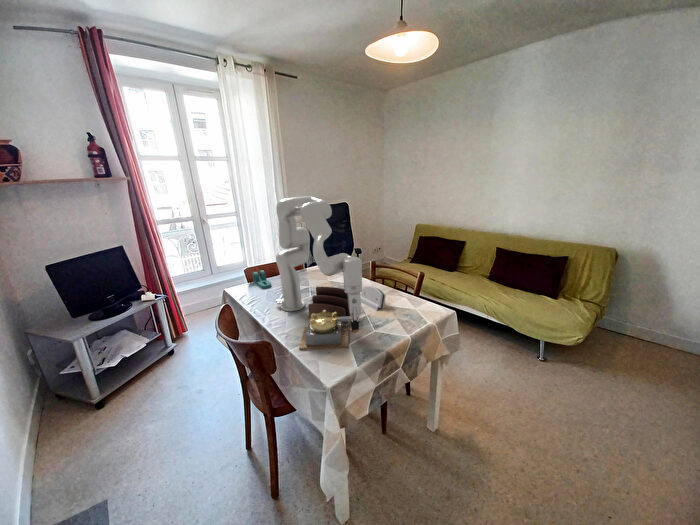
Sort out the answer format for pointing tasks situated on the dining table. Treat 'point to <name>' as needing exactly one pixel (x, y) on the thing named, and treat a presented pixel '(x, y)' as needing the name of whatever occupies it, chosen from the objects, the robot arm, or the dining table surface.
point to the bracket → (261, 280)
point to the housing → (325, 338)
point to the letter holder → (330, 302)
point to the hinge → (373, 297)
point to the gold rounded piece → (327, 321)
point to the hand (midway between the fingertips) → (355, 326)
